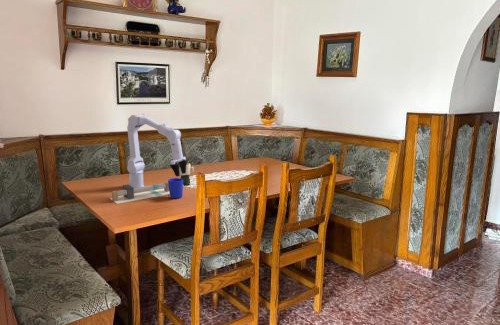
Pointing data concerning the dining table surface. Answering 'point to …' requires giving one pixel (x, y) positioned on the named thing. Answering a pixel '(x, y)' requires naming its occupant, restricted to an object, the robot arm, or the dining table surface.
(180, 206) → the dining table surface
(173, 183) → the mug
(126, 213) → the dining table surface
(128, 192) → the collar
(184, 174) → the character mug
